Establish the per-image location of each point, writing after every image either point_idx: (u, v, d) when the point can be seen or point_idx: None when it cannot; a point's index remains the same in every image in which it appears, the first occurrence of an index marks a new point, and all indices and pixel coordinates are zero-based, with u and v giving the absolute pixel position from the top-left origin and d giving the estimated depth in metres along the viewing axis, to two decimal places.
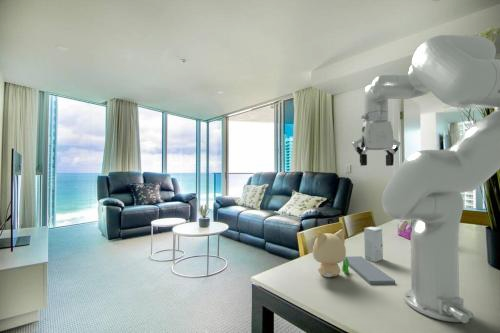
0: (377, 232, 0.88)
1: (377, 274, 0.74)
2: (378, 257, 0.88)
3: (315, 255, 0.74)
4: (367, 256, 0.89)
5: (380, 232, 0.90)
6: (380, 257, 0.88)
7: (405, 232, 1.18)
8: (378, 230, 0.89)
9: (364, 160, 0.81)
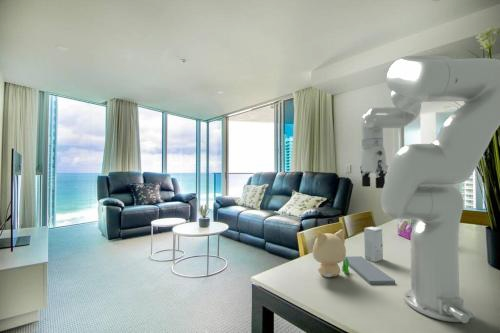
0: (377, 232, 0.88)
1: (377, 274, 0.74)
2: (378, 257, 0.88)
3: (315, 255, 0.74)
4: (367, 256, 0.89)
5: (380, 232, 0.90)
6: (380, 257, 0.88)
7: (405, 232, 1.18)
8: (378, 230, 0.89)
9: None
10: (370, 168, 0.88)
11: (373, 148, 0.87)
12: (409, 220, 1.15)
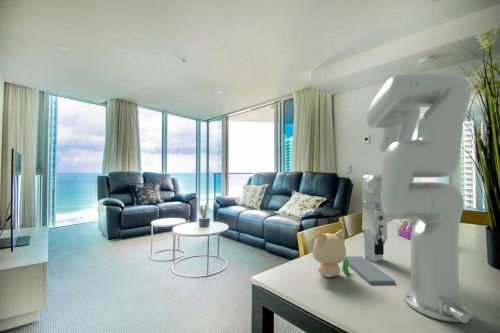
0: None
1: (377, 274, 0.74)
2: (378, 257, 0.88)
3: (315, 255, 0.74)
4: (367, 256, 0.89)
5: None
6: (380, 257, 0.88)
7: (405, 232, 1.18)
8: None
9: None
10: (371, 231, 0.87)
11: (374, 212, 0.86)
12: (409, 220, 1.15)
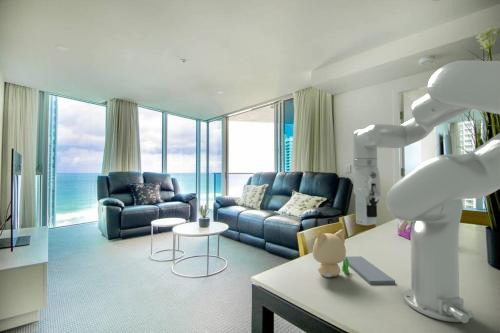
0: None
1: (377, 274, 0.74)
2: (371, 221, 0.78)
3: (315, 255, 0.74)
4: (358, 220, 0.79)
5: None
6: (373, 221, 0.78)
7: (405, 232, 1.18)
8: None
9: None
10: (363, 192, 0.78)
11: (366, 169, 0.77)
12: None
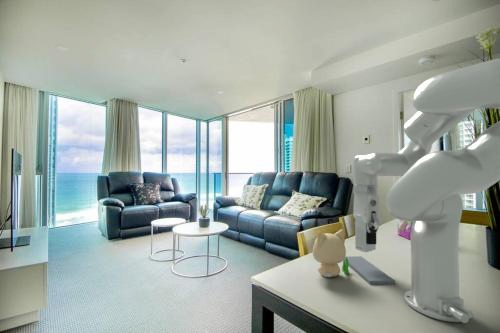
0: None
1: (377, 274, 0.74)
2: (370, 247, 0.78)
3: (315, 255, 0.74)
4: (358, 246, 0.79)
5: None
6: (372, 247, 0.78)
7: (405, 232, 1.18)
8: None
9: (375, 239, 0.76)
10: (363, 218, 0.78)
11: (366, 196, 0.76)
12: None
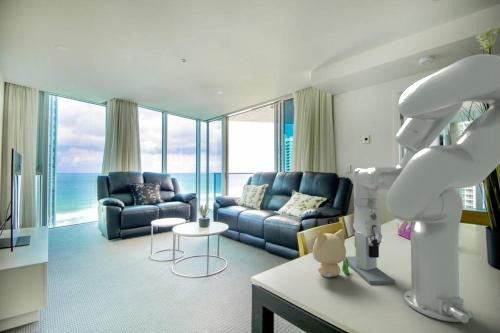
0: None
1: (377, 274, 0.74)
2: (371, 265, 0.78)
3: (315, 255, 0.74)
4: (358, 263, 0.79)
5: None
6: (373, 265, 0.78)
7: (405, 232, 1.18)
8: None
9: None
10: (363, 232, 0.77)
11: (366, 210, 0.76)
12: None
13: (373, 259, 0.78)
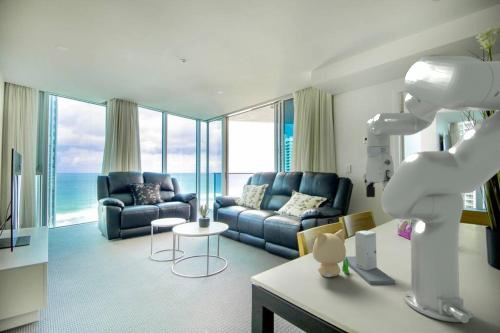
0: (369, 237, 0.78)
1: (377, 274, 0.74)
2: (371, 265, 0.78)
3: (315, 255, 0.74)
4: (358, 264, 0.79)
5: (374, 237, 0.79)
6: (373, 265, 0.78)
7: (405, 232, 1.18)
8: (371, 234, 0.79)
9: None
10: (377, 178, 0.81)
11: (380, 157, 0.80)
12: (409, 220, 1.15)
13: (373, 259, 0.78)
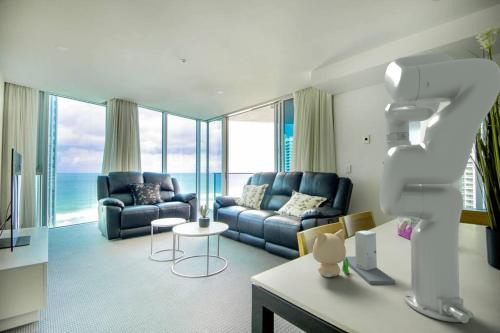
0: (369, 237, 0.78)
1: (377, 274, 0.74)
2: (371, 265, 0.78)
3: (315, 255, 0.74)
4: (358, 264, 0.79)
5: (374, 237, 0.79)
6: (373, 265, 0.78)
7: (405, 232, 1.18)
8: (371, 234, 0.79)
9: None
10: None
11: (400, 142, 0.85)
12: (409, 220, 1.15)
13: (373, 259, 0.78)
